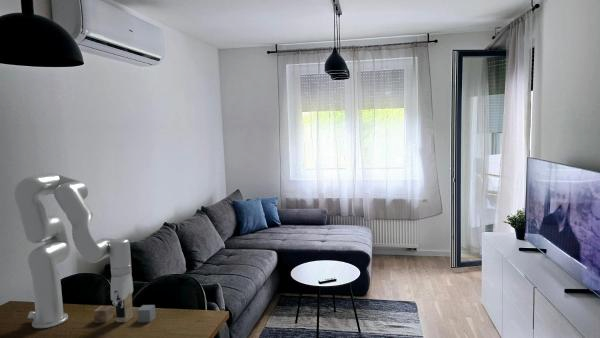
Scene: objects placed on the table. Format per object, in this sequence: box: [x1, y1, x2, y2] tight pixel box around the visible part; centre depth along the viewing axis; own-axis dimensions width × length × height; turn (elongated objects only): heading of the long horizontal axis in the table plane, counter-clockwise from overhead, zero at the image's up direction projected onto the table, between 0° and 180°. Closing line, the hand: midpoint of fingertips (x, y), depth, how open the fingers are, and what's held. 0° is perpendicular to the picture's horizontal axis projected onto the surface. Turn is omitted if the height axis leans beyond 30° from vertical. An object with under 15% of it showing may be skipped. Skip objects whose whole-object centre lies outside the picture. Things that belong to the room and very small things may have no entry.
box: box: [115, 291, 134, 323], centre depth 167 cm, size 5×4×11 cm
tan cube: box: [93, 305, 114, 324], centre depth 168 cm, size 5×5×5 cm
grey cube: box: [137, 304, 157, 323], centre depth 167 cm, size 5×5×5 cm
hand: (124, 313), depth 168 cm, fingers closed on box, 5 cm apart
